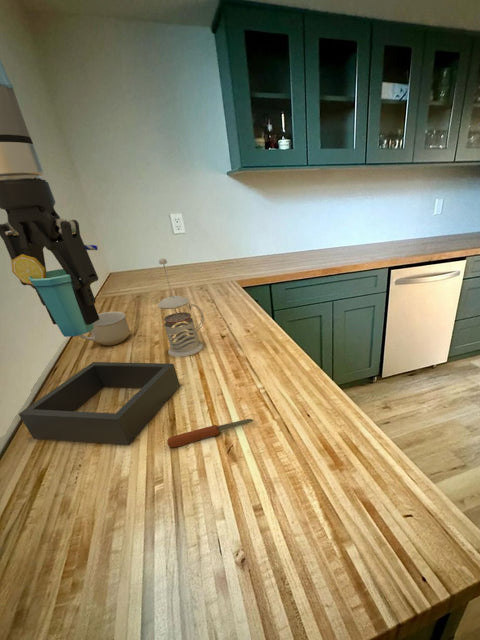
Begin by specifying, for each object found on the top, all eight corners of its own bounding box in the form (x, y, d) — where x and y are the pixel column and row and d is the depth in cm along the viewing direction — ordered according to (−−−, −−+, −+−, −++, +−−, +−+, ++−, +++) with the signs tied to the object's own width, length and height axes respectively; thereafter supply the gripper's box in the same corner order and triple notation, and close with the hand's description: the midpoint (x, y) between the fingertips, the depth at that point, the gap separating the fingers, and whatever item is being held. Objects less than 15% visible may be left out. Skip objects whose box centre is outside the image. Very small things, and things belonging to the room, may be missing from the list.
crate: (33, 438, 65) (18, 413, 62) (102, 383, 82) (93, 361, 79) (129, 445, 61) (117, 419, 58) (180, 386, 78) (173, 363, 75)
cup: (124, 317, 68) (98, 238, 61) (122, 330, 62) (92, 244, 55) (46, 330, 64) (7, 248, 57) (34, 345, 58) (-11, 255, 51)
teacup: (127, 331, 111) (119, 308, 107) (137, 340, 104) (129, 316, 100) (81, 345, 104) (70, 320, 100) (88, 356, 96) (76, 330, 92)
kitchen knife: (169, 450, 59) (166, 441, 58) (169, 445, 61) (166, 436, 60) (255, 426, 64) (254, 417, 63) (254, 422, 65) (252, 413, 64)
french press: (165, 347, 98) (139, 258, 86) (204, 337, 102) (185, 251, 90) (170, 360, 90) (143, 265, 78) (213, 349, 95) (193, 257, 82)
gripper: (89, 174, 53) (134, 314, 64) (-12, 182, 56) (48, 314, 67) (51, 174, 46) (109, 330, 58) (-60, 183, 50) (15, 329, 61)
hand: (76, 321), depth 63 cm, fingers closed on cup, 6 cm apart
